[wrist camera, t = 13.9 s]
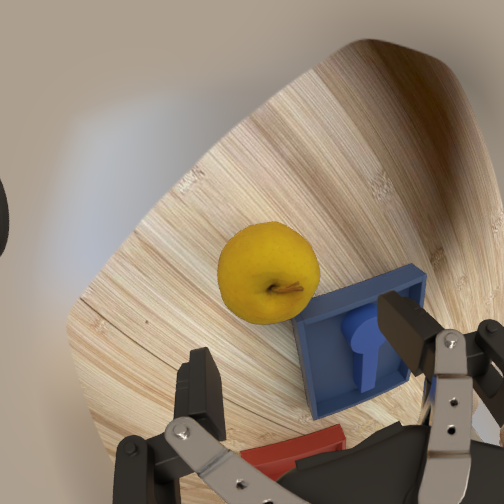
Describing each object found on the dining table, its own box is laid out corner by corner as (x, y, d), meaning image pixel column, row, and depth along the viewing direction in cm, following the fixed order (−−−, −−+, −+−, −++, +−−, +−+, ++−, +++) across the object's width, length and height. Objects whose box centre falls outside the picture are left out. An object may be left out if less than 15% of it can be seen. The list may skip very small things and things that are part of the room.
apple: (308, 219, 21) (356, 261, 14) (283, 291, 23) (313, 354, 16) (227, 199, 20) (237, 234, 13) (208, 277, 22) (209, 343, 15)
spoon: (375, 370, 29) (384, 383, 27) (342, 383, 29) (350, 398, 27) (380, 296, 25) (392, 309, 22) (339, 311, 24) (350, 326, 22)
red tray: (259, 476, 39) (261, 489, 36) (240, 451, 33) (242, 467, 30) (339, 453, 39) (344, 466, 36) (339, 423, 34) (346, 439, 31)
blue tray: (307, 405, 30) (313, 420, 28) (288, 305, 24) (296, 322, 22) (399, 368, 31) (408, 380, 29) (411, 262, 25) (427, 274, 22)
